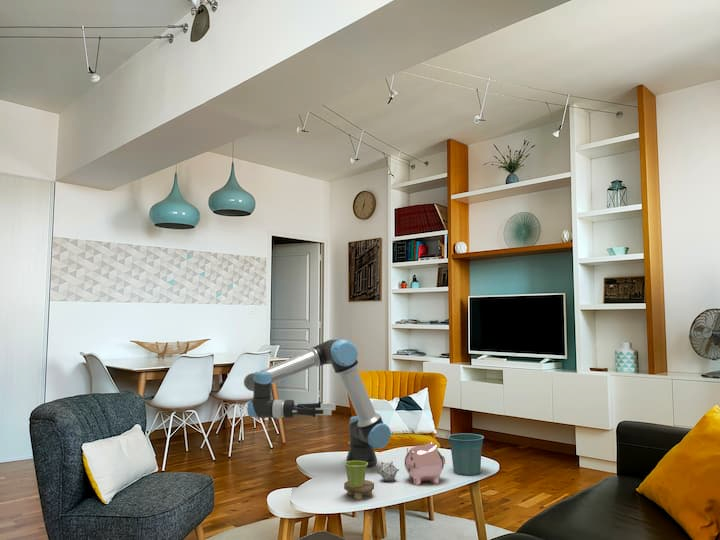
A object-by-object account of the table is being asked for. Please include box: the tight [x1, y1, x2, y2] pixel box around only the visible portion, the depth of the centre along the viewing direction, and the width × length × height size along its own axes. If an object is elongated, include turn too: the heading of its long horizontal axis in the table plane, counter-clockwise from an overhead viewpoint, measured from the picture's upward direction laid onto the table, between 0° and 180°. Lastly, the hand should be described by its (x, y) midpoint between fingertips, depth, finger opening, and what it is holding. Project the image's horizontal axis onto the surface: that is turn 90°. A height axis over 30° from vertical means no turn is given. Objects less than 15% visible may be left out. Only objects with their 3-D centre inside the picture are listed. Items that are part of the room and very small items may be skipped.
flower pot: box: [447, 432, 485, 476], centre depth 254 cm, size 16×16×16 cm
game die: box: [377, 460, 400, 483], centre depth 240 cm, size 9×8×10 cm
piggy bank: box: [404, 440, 446, 486], centre depth 240 cm, size 15×18×16 cm
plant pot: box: [343, 461, 368, 488], centre depth 217 cm, size 9×9×9 cm
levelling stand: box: [343, 479, 375, 501], centre depth 219 cm, size 12×12×4 cm
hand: (333, 409), depth 234 cm, fingers open, 13 cm apart
